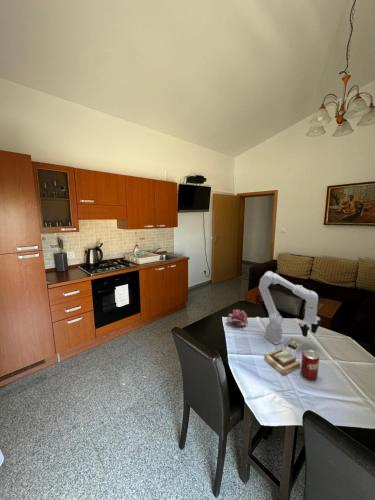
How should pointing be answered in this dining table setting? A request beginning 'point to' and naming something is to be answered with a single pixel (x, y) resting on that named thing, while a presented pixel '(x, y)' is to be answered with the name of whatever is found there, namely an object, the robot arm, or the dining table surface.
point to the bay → (277, 366)
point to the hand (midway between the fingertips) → (309, 334)
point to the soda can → (310, 365)
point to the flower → (238, 318)
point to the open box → (284, 358)
